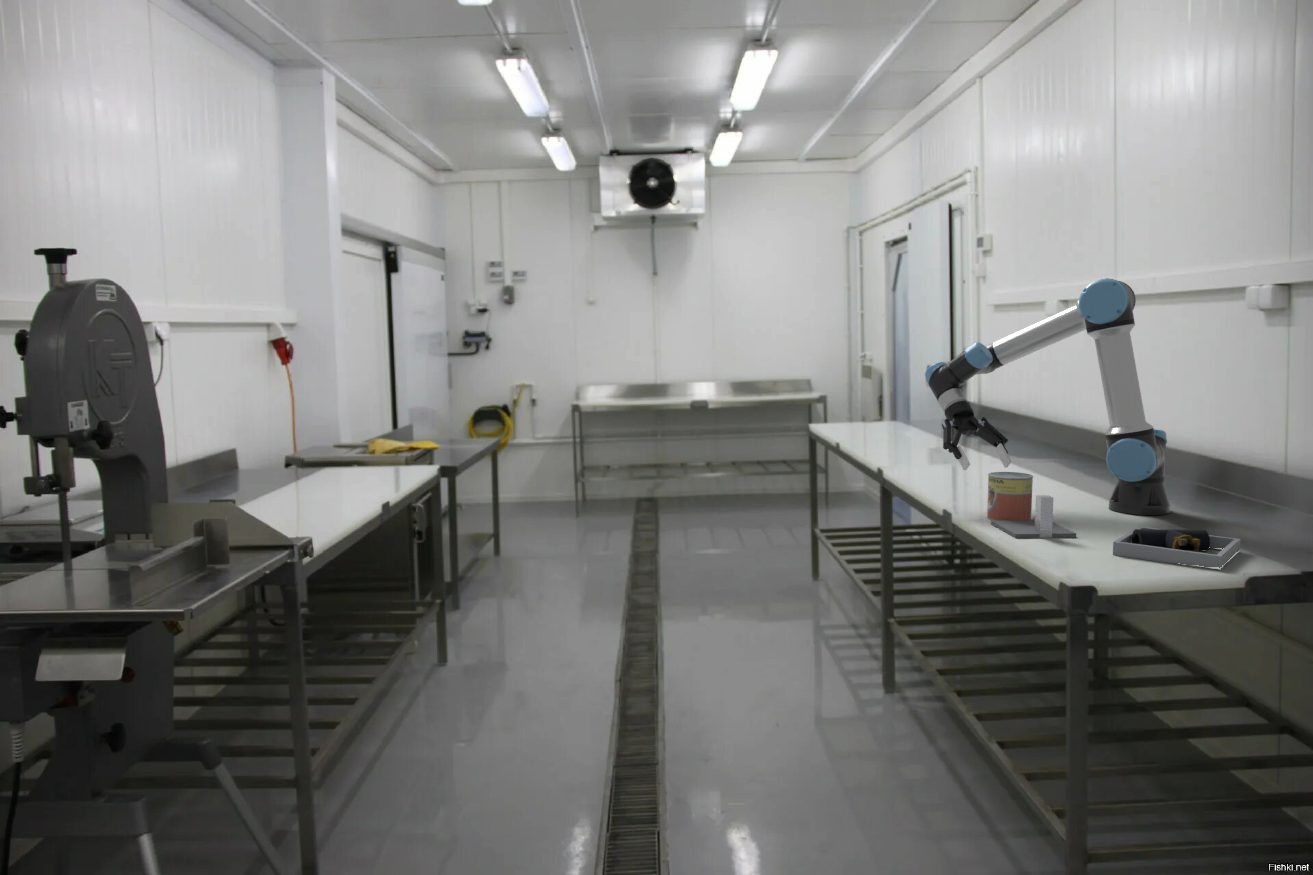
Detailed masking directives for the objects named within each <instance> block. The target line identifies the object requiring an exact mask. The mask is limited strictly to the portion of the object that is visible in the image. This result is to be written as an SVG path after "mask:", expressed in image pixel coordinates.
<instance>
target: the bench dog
mask: <svg viewBox="0 0 1313 875" xmlns="http://www.w3.org/2000/svg"><path fill="white" fill-rule="evenodd" d="M1034 514H1035V515H1034V520H1035V532H1037V533H1039V534H1040V539H1044V538H1045V539H1048V538H1049V539H1050V538H1052V522H1054V520H1053V515H1054V496H1051V495H1047V494H1046V495H1042V494H1040V495H1039V494H1038V495H1035V513H1034Z"/></svg>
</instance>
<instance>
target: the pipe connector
mask: <svg viewBox="0 0 1313 875" xmlns="http://www.w3.org/2000/svg"><path fill="white" fill-rule="evenodd" d="M1134 529H1135V530H1134ZM1134 529H1133V530H1134V531H1133V533H1132V543H1133V544H1141V545H1148V546H1155V547H1163V548H1170V549H1177V550H1185V551H1192V552H1200V551H1199V550H1207V551H1208V550H1210V549H1209V546H1210V537H1209V535H1210V534H1209V533H1208V532H1209V531H1207V530H1206V529H1163V528H1156V529H1136V528H1134Z"/></svg>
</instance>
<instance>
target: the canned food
mask: <svg viewBox="0 0 1313 875" xmlns="http://www.w3.org/2000/svg"><path fill="white" fill-rule="evenodd" d="M987 476H988V478H987V479H988V480H987V485H988V486H987V508H986V510H987V512H986V513H987V514H986V519H987V518H988V520H989V521H992V520H993V521H1003V520H1032V506H1033V504H1032V502H1033V478H1034V476H1033V475H1032V474H1030V473H1025V472H1015V471H994V472H993V471H992V472H989V473H988V474H987Z"/></svg>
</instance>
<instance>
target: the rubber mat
mask: <svg viewBox="0 0 1313 875" xmlns="http://www.w3.org/2000/svg"><path fill="white" fill-rule="evenodd" d="M991 524H992V525H991ZM990 525H991V526H993V527H995V528H997V529H998V528H999V529H998V530H1000V531H1002V530H1003V531H1002V532H1003V533H1005V534H1007V533H1008V534H1007V535H1009V536H1011V537H1012V536H1013V537H1012V538H1014V537H1015V538H1014V539H1039V538H1040V534H1039V533H1037V532H1035V519H1033V520H1032V519H1031V520H1003V521H992V520H990ZM1052 538H1053V539H1054V538H1058V539H1060V538H1067V539H1068V538H1077V533H1076V532H1074V531H1072V530H1070V529H1068V528H1066V527H1064V526H1061V525H1059V524H1058V523H1055V522H1054V521H1052ZM1040 539H1041V538H1040Z"/></svg>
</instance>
